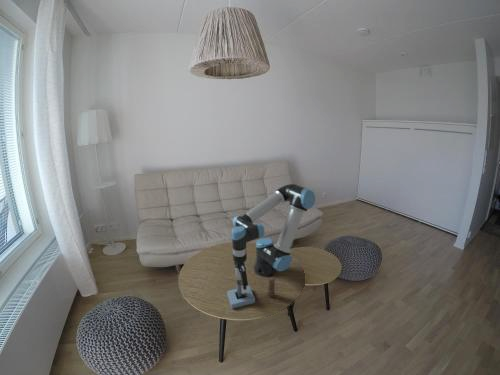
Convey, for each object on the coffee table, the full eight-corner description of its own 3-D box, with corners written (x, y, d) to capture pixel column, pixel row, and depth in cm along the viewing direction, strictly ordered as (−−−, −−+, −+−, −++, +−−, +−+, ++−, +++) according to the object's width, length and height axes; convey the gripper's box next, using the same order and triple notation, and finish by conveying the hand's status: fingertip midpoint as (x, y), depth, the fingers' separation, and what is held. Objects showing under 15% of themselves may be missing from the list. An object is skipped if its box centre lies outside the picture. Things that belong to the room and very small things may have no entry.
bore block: (249, 289, 148) (249, 285, 147) (255, 302, 138) (255, 298, 137) (227, 294, 144) (227, 290, 143) (231, 308, 134) (231, 304, 133)
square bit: (243, 295, 144) (242, 279, 140) (245, 300, 140) (244, 283, 136) (236, 297, 143) (236, 280, 139) (238, 302, 139) (237, 285, 135)
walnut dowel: (272, 293, 145) (273, 276, 141) (275, 297, 142) (275, 280, 138) (267, 294, 144) (267, 278, 140) (269, 298, 141) (270, 282, 137)
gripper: (228, 243, 141) (230, 272, 148) (238, 268, 119) (240, 302, 126) (240, 240, 143) (241, 269, 151) (253, 265, 121) (254, 298, 128)
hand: (241, 284), depth 138 cm, fingers open, 13 cm apart
